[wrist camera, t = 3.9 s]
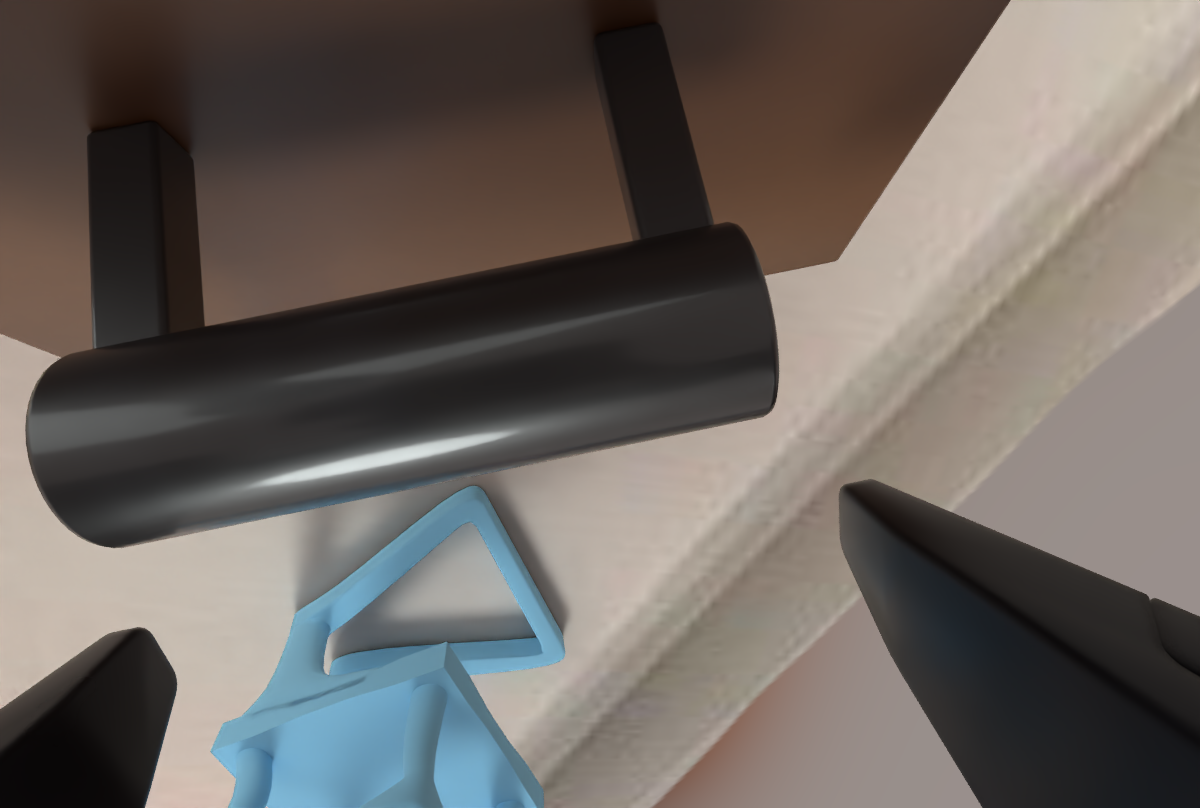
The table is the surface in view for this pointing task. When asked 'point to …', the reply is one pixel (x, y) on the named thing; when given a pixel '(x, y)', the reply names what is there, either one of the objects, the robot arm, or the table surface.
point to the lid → (421, 229)
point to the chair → (391, 698)
